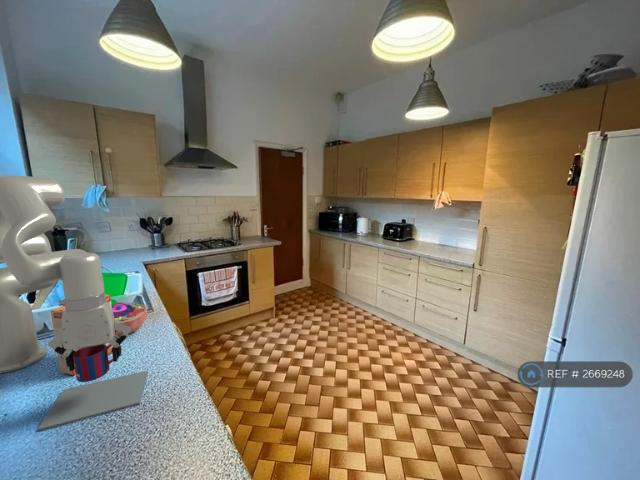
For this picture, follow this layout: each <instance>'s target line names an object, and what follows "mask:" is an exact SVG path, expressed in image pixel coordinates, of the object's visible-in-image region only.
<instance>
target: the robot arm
mask: <svg viewBox="0 0 640 480" xmlns="http://www.w3.org/2000/svg"><path fill="white" fill-rule="evenodd" d="M65 200H66V193H65V190H64V187H63V186H62V185H61V184H60V182H58V181H57V180H55V179H54V178H51V177H46V176H45V177H44V176H27V175H25V176H24V175H9V174H8V175H7V174H0V264H5V265H6V266H3V267H0V374H5V373H10V372H14V371H17V370H21V369H24V368H27V367H30V366H31V365H34V364H35V363H37V362H39V361H41V360H43V358H45V356H47V349H46V348H45V347H41V346H39V341H38V335H37V330H36V325H35V324H36V323H35V320H34V319H35V318H34V314H33V313H34V312H33V309H32V306H31V305H30V304H29V303H28V302H27V301H25V300H22V299H20V298H18V297H19V296H22V295H26V294H29V293H32V292H37V291H42V290H45V289H47V288H50V287H52V286H53V285H54V284H55V283H56V282H60V281H62V282H61V283H62V287H63V292H64V294H63V295H64V299H62V300H58V304H57V305H58V307H61V306H65V307H66V310H64V311H63V313H62V333H61V334H60V335H58V336H57V337H54V338H52V339H51V340H50V341H48V343H47V346H48V347H49V348H51V349H52V350H54V352H55V353H56V354H57V353H59V354H61V355H62V356H63V357H65V358H66V364H67V367H69V369H70V371H73V370H74V369H75V367H74V360H73V354H74V353H75V352H76V351H75V349H80V348H86V347H91V346H97V345H102V344H106V343H109V344H111V345H112V346H113V348H112V353H111V355H112V359H113V362H114V363H116V362H118V360H119V358H120V357H121V356H122V351H121V348H122V343H124V341H125V340H126V339H127V337H128V336H129V334H130V333H129V332H130V330H131V327H128V326H125V325H122V324H118V323H116V321H115V317H114V314H113V311H112V308H111V306H112V305H111V306H110V304H109V302H106V298H105V295H106V292H105V284H104V278H103V271H102V264H101V263H102V262H101V259H100V256H99V255H98V254H97V253H94V252H87V251H85V250H84V249H80V248H71V249H65V250H64V249H63V250H58V251H57V250H56V251H52V246H51V243H50V240H49V238H48V237H47V236H46V234H45V233H47V232H49V231H50V230H52V229H53V228H54V227H55V225H56V223H57V219H56V217H55V215H54V213H53V212H52V210H51V209H50V208H49V207H59V206H61V205H62V204H63V203H64V202H65ZM117 330H118V331H122V332H123V334H122V335H121V336H117V335H115V334H116V333H117ZM61 340H62V343H63V345H62V344H60V343H59V341H61ZM113 362H112V363H113Z"/></svg>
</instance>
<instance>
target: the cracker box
mask: <svg viewBox="0 0 640 480" xmlns="http://www.w3.org/2000/svg"><path fill="white" fill-rule="evenodd" d="M105 298H106V302H109V304H110V306H112V299H111V295H110V294H105ZM111 308H112V307H111ZM64 310H66V307H65V306H63V305H62V306H58V307H56V308H52V309H51V310H50V317H51V322H52V329H53V330H52V331H53V335H54V336H53V337H54V338H55V337H57V336H58V335H60V334H61V333H62V313H63V311H64ZM59 343H60V344H62V345H63V343H62V340H61V341H59ZM105 345H106V346H108V345H109V343H106V344H105ZM112 348H113V346H111V347H110V348H109V349H108V351H107V352H108V356H109V355H110V354H111V355H112ZM80 349H81V348H80ZM77 350H79V349H75V351H77ZM56 354H57V362H58V367H59V369H58V370H59V373H60V374H66V375H71V376H76V373H75V369H74V370H73V371H70V369H69V367H67V364H66V358H65V357H63V356H62V355H61V354H59V353H57V352H56Z"/></svg>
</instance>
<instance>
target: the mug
mask: <svg viewBox="0 0 640 480" xmlns="http://www.w3.org/2000/svg"><path fill="white" fill-rule="evenodd" d="M111 346H112V345H111V344H109V345H108V346H106V345H105V344H102V345H97V346H91V347H86V348H81V349H79V350H77V351H76V352H75V353H74V354H73V360H74V367H75V373H76V374H75V379H76V381H77V382H80V383H87V382H92V381H95V380H98V379H101V378H102V377H103V376H105V375H106V374H107V373H108V372H109V371H110V365H111V364H112V363H113V358H112V359H110V360H109V355H108V352H107V351H108V349H109V348H110V347H111ZM122 348H123V347H121V352H122Z"/></svg>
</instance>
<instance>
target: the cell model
mask: <svg viewBox="0 0 640 480" xmlns="http://www.w3.org/2000/svg"><path fill="white" fill-rule="evenodd" d="M111 307H112V311H113V314H114V317H115V321H116V323H118V324H122V325H125V326H128V327H131V330H130V332H129V334H131V333H133V332H136V331H138V330H139V329H141V327H142V325H143V324H144V322H145V321H146V320H147V319H148V316H149V315H148V309H147V306H146V305H144V304H139V303H134V302H132V303H131V302H130V303H125V302H115V303H114V304H111ZM122 334H123V332H122V331H118V330H117V333H116V334H115V335H117V336H118V337H120V336H121V335H122Z"/></svg>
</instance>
